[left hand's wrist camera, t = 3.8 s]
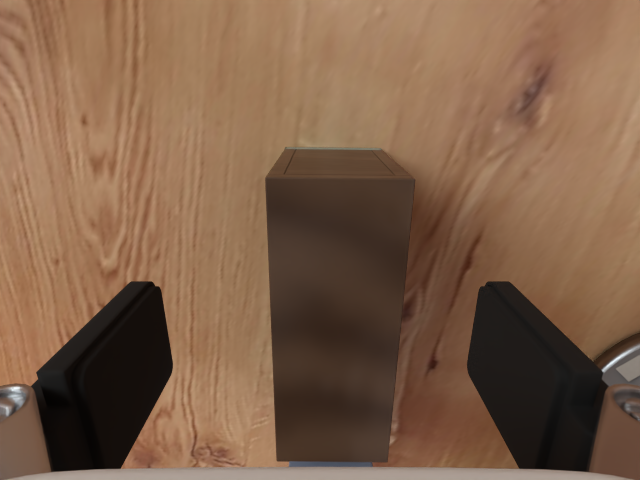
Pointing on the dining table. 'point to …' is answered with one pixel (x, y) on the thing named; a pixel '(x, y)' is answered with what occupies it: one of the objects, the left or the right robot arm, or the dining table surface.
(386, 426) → the cabinet
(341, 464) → the drawer
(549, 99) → the dining table surface
